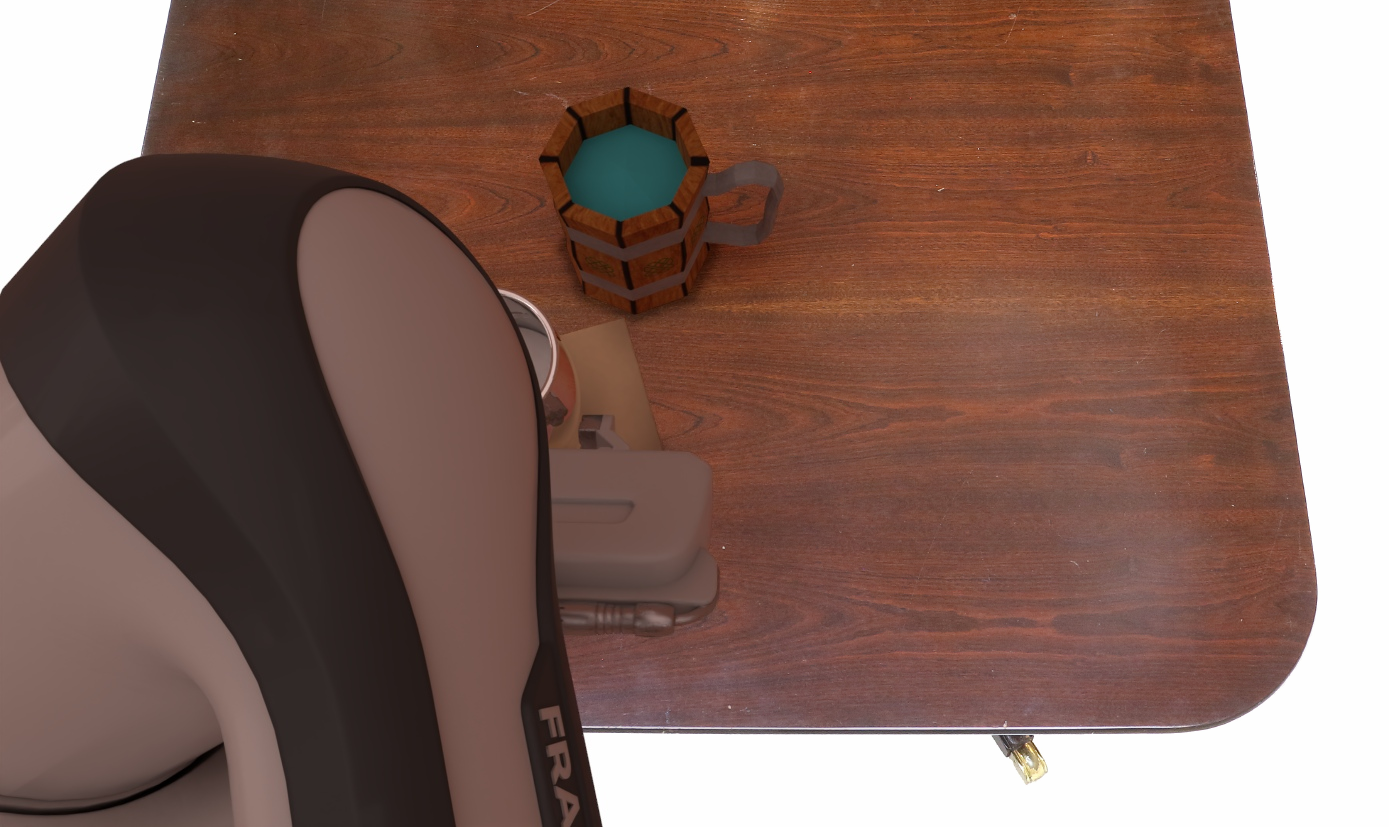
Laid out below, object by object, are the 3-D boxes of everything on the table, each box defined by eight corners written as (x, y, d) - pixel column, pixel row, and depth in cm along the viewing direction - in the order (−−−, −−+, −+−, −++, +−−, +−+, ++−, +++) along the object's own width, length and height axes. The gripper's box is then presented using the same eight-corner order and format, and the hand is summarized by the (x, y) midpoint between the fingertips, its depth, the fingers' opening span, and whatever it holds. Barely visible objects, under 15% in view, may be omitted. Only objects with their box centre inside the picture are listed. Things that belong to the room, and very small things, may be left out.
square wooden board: (461, 593, 52) (456, 591, 51) (415, 381, 56) (410, 375, 55) (685, 528, 53) (685, 525, 52) (626, 323, 56) (624, 316, 55)
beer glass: (469, 411, 54) (380, 307, 40) (585, 376, 54) (539, 261, 40) (498, 525, 52) (416, 459, 38) (618, 488, 52) (582, 409, 38)
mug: (561, 313, 86) (531, 236, 71) (570, 183, 90) (544, 85, 75) (775, 317, 85) (788, 240, 71) (775, 186, 89) (787, 88, 75)
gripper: (720, 555, 29) (723, 368, 42) (84, 541, 30) (271, 360, 42) (717, 703, 32) (721, 487, 45) (138, 687, 33) (298, 479, 45)
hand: (498, 425), depth 43 cm, fingers open, 8 cm apart
